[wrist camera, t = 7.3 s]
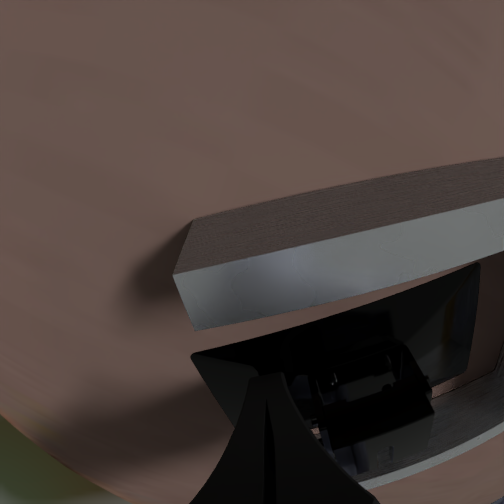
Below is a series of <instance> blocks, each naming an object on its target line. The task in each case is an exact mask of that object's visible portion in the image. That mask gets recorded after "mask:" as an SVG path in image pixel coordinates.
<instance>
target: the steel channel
mask: <svg viewBox="0 0 504 504" xmlns="http://www.w3.org/2000/svg"><path fill="white" fill-rule="evenodd" d="M501 251H504V157H502V158H495V159H488V160H481V161H474V162H468V163H461V164H455V165H449V166H443V167H437V168H431V169H425V170H420V171H414V172H408V173H403V174H397V175H392V176H387V177H381V178H376V179H371V180H366V181H361V182H356V183H351V184H346V185H341V186H336V187H331V188H326V189H322V190H317V191H312V192H308V193H303V194H298V195H294V196H289V197H285V198H281V199H276V200H272V201H267V202H263V203H259V204H255V205H250V206H246V207H242V208H238V209H234V210H229V211H225V212H221V213H217V214H213V215H209V216H205V217H201V218H197V219H194V220H193V222H192V225H191V227H190V230H189V232H188V235H187V238H186V240H185V243H184V245H183V248H182V251H181V253H180V256H179V259H178V261H177V264H176V267H175V269H174V272H173V275H172V276H173V278H174V281H175V283H176V286H177V288H178V291H179V293H180V296H181V298H182V301H183V303H184V306H185V308H186V311H187V313H188V316H189V318H190V320H191V323H192V325H193V327H194V330H195V331H198V330H203V329H209V328H214V327H219V326H224V325H229V324H234V323H239V322H244V321H249V320H254V319H259V318H263V317H268V316H272V315H277V314H281V313H286V312H290V311H295V310H299V309H303V308H308V307H312V306H316V305H320V304H324V303H328V302H332V301H336V300H340V299H344V298H348V297H352V296H356V295H360V294H363V293H367V292H371V291H375V290H378V289H382V288H386V287H389V286H393V285H396V284H400V283H403V282H407V281H410V280H414V279H417V278H420V277H424V276H427V275H430V274H434V273H437V272H440V271H443V270H447V269H450V268H453V267H456V266H459V265H462V264H465V263H468V262H472V261H475V260H478V259H481V258H483V257H486V256H489V255H492V254H495V253H498V252H501ZM431 405H432V407H433V409H434V411H435V416H434V421H433V425H432V430H431V434H430V438H429V442H428V446H427V449H426V450H424V451H421V452H419V453H417V454H414V455H412V456H409V457H407V458H404V459H402V460H399V461H396V462H394V463H392V462H391V460H390V457H389V446H388V447H385V448H383V449H381V450H379V451H378V468H376V469H373V470H370V471H367V472H364V473H361V474H358V475H354V476H351V477H352V478H353V479H354V480H355V481H356V482H358V483H359V484H360V485H361V486H362V487H363V488H365V489H366V490H368V489H371V488H375V487H378V486H381V485H384V484H387V483H390V482H393V481H396V480H399V479H402V478H405V477H408V476H410V475H413V474H416V473H418V472H421V471H423V470H426V469H428V468H431V467H433V466H435V465H438V464H440V463H442V462H445V461H447V460H449V459H451V458H454V457H456V456H458V455H460V454H462V453H464V452H466V451H468V450H470V449H472V448H474V447H476V446H478V445H480V444H482V443H484V442H485V441H487V440H489V439H491V438H493V437H494V436H496V435H498V434H500V433H501V432H503V431H504V343H503V347H502V350H501V353H500V356H499V359H498V361H497V364H496V367H495V370H494V371H493V372H491V373H489V374H487V375H485V376H483V377H481V378H479V379H477V380H475V381H473V382H471V383H469V384H466V385H464V386H462V387H460V388H457V389H455V390H453V391H451V392H448V393H446V394H443V395H441V396H439V397H436V398H434V399H431ZM315 437H316V438H317V439H319V438H321V435H320V434H317V435H315Z"/></svg>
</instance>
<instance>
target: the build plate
mask: <svg viewBox="0 0 504 504" xmlns="http://www.w3.org/2000/svg"><path fill="white" fill-rule="evenodd" d="M480 269H481V265H480V263H478V262H476V263H474V264H471V265H469V266H467V267H464V268H462V269H460V270H457V271H455V272H452V273H450V274H447V275H445V276H442V277H440V278H437V279H435V280H432V281H429V282H427V283H424V284H422V285H419V286H416V287H414V288H411V289H408V290H406V291H403V292H400V293H397V294H395V295H392V296H389V297H386V298H383V299H380V300H378V301H375V302H372V303H369V304H366V305H363V306H360V307H357V308H354V309H351V310H348V311H345V312H342V313H339V314H335V315H332V316H329V317H326V318H323V319H319V320H316V321H313V322H309V323H306V324H303V325H299V326H296V327H292V328H289V329H286V330H282V331H278V332H275V333H271V334H268V335H264V336H260V337H256V338H253V339H249V340H245V341H241V342H237V343H233V344H229V345H225V346H221V347H217V348H213V349H209V350H204V351H200V352H196V353H193V354H192V355H191V359H192V361H193V363H194V364H195V366H196V368H197V369H198V371H199V373H200V374H201V376H202V378H203V379H204V381H205V382H206V384H207V386H208V387H209V389H210V390H211V392H212V394H213V395H214V397H215V398H216V400H217V401H218V403H219V404H220V406H221V407H222V409H223V410H224V412H225V414H226V415H227V417H228V418H229V419H230V421H231V422H232V424H233V425H234V427H235V426H236V424H237V421H238V418H239V415H240V412H241V409H242V406H243V403H244V399H245V396H246V391H247V387H248V381H249V379H250V378H251V377H256V376H262V375H267V374H272V373H277V372H282V373H284V376H285V379H286V383H287V387H288V390H289V392H290V394H291V397H292V399H293V401H294V403H295V405H296V407H297V408H298V410H299V412H300V414H301V415H302V417H303V419H304V420H305V422H306V423H307V425H308V426H309V428H310V429H314V428H317V427H318V428H319V432H320V435H321V438H319V439H318V441H319V442H320V443H321V444H322V446H323V447H324V448H325V449H326V451H327V452H328V453H329V454H330V455H331V456H332V458H333V459H334V460H335V461H336V462H337V463H338V464H339V465H340V466H341V467H342V468H343V469H344V470H345V471H346V472H347V473H348V474H349V475H350V476H354V475H358V474H361V473H364V472H367V471H370V470H373V469H376V468H378V451H379V450H381V449H383V448H385V447H388V446H389V457H390V460H391V462H392V463H394V462H396V461H399V460H402V459H404V458H407V457H409V456H412V455H414V454H417V453H419V452H421V451H424V450H426V449H427V446H428V442H429V438H430V434H431V430H432V425H433V421H434V416H435V411H434V409H433V407H432V405H431V398H432V389H431V388H432V387H434V386H436V385H439V384H441V383H443V382H445V381H447V380H449V379H452V378H454V377H456V376H458V375H460V374H462V373H464V372H465V371H466V369H467V365H468V360H469V355H470V350H471V344H472V339H473V332H474V326H475V319H476V311H477V303H478V293H479V282H480Z"/></svg>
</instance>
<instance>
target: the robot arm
mask: <svg viewBox="0 0 504 504" xmlns="http://www.w3.org/2000/svg"><path fill="white" fill-rule="evenodd" d="M189 504H380V503H379V502H378V500H377V499H376V498H375V496H373V495H372V494H371V493H370V492H368V491H367V490H366V489H365V488H363V487H362V486H361V485H360V484H359V483H358V482H356V481H355V480H354V479H353V478H352V477H351V476H350V475H349V474H348V473H347V472H346V471H345V470H344V469H343V468H342V467H341V466H340V465H339V464H338V463H337V462H336V461H335V460H334V459H333V458H332V456H331V455H330V454H329V453H328V452H327V451H326V449H325V448H324V447H323V446H322V444H321V443H320V442H319V441H318V439H317V438H316V437H315V435H314V434H313V432H312V431H311V429H310V428H309V426H308V425H307V423H306V422H305V420H304V419H303V417H302V415H301V414H300V412H299V410H298V408H297V407H296V405H295V403H294V401H293V399H292V397H291V394H290V392H289V390H288V387H287V383H286V379H285V376H284V373H282V372H277V373H272V374H267V375H262V376H256V377H251V378H250V379H249V381H248V387H247V391H246V396H245V399H244V403H243V406H242V409H241V412H240V415H239V418H238V421H237V424H236V426H235V429H234V431H233V434H232V436H231V438H230V441H229V443H228V445H227V447H226V449H225V451H224V453H223V455H222V457H221V459H220V461H219V462H218V464H217V466H216V467H215V469H214V471H213V472H212V474H211V475H210V477H209V479H208V480H207V482H206V483H205V484H204V486H203V487H202V488H201V490H200V491H199V492H198V494H197V495H196V496H195V497H194V499H193V500H192V501H191V502H190V503H189ZM491 504H504V496H503V497H502V498H500V499H498V500H497V501H495V502H493V503H491Z"/></svg>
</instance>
